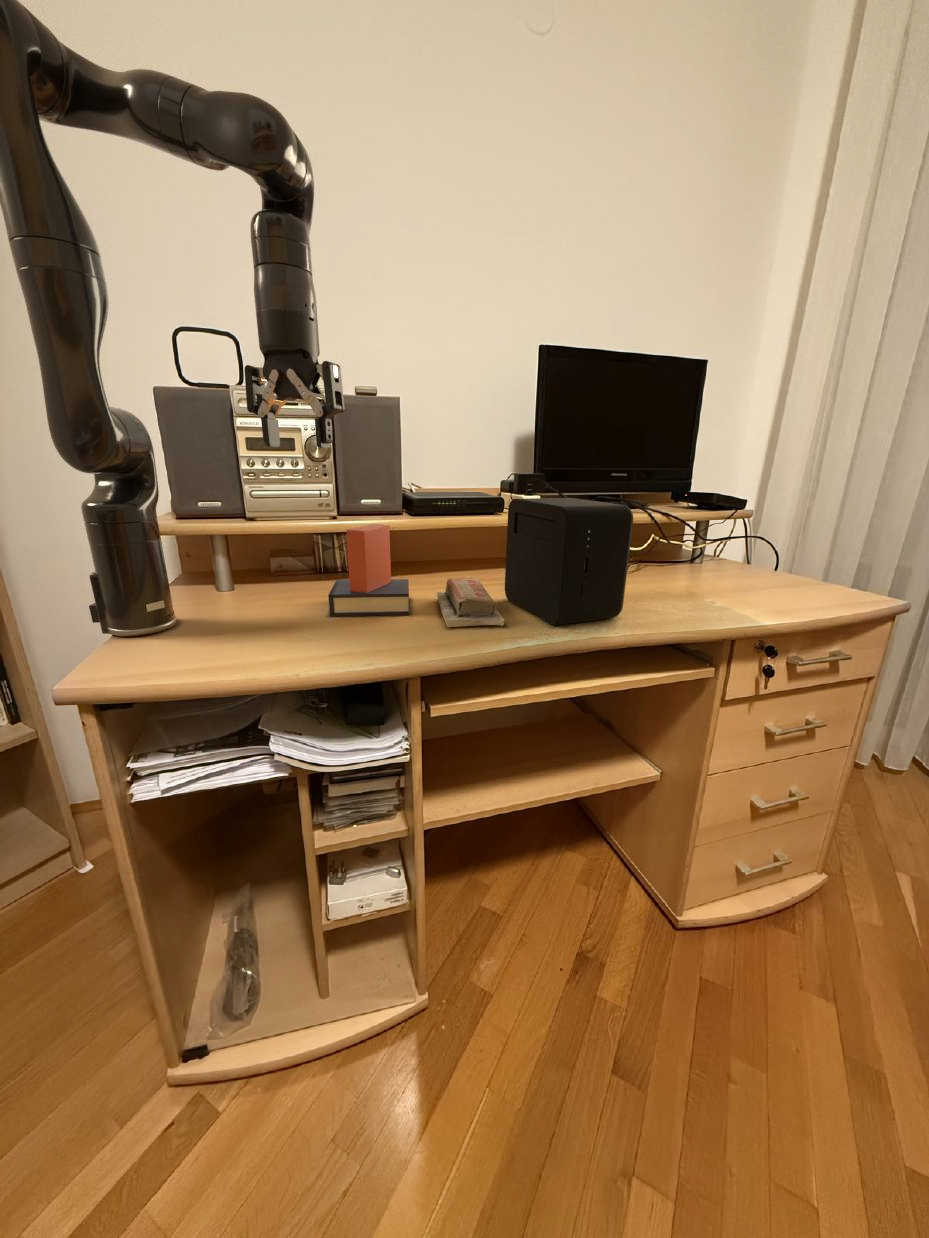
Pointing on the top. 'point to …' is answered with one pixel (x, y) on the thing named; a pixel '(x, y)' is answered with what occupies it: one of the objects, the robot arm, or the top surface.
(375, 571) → the red rectangular block
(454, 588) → the packaged product
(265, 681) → the top surface
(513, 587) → the black nas enclosure
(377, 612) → the big book
